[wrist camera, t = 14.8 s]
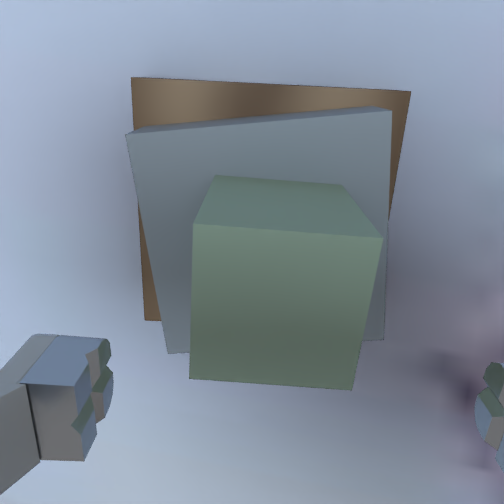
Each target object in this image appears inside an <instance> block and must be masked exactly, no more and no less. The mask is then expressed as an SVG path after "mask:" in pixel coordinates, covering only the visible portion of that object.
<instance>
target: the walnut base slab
mask: <svg viewBox="0 0 504 504" xmlns="http://www.w3.org/2000/svg"><path fill="white" fill-rule="evenodd" d="M131 89H132V107H133V125H134V130H137V129H139V128H141V127H144V126H151V125H162V124H173V123H185V122H196V121H207V120H218V119H229V118H240V117H251V116H262V115H273V114H284V113H296V112H307V111H318V110H329V109H340V108H351V107H362V106H376V107H380V108H384V109H388V110H392V131H391V158H390V185H389V213H388V220H389V215H390V209H391V203H392V198H393V192H394V186H395V181H396V175H397V169H398V164H399V158H400V152H401V147H402V141H403V135H404V130H405V124H406V118H407V113H408V107H409V101H410V96H411V91H399V90H382V89H362V88H342V87H322V86H302V85H282V84H262V83H242V82H222V81H202V80H183V79H163V78H140V77H131ZM138 212H139V230H140V247H141V265H142V282H143V300H144V317H145V320H147V321H161V316H160V311H159V306H158V300H157V295H156V290H155V285H154V280H153V275H152V270H151V264H150V259H149V254H148V249H147V244H146V239H145V234H144V229H143V223H142V218H141V213H140V208H139V203H138Z"/></svg>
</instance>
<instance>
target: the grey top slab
mask: <svg viewBox="0 0 504 504" xmlns="http://www.w3.org/2000/svg"><path fill="white" fill-rule="evenodd" d="M391 131H392V110H388V109H384V108H380V107H376V106H362V107H351V108H340V109H329V110H318V111H307V112H296V113H284V114H273V115H262V116H251V117H240V118H229V119H218V120H207V121H196V122H185V123H173V124H162V125H151V126H144V127H141V128H139V129H137V130H134V131H132V132H130V133H128V134H125V136H126V141H127V147H128V152H129V157H130V162H131V167H132V172H133V177H134V182H135V188H136V193H137V198H138V203H139V208H140V213H141V218H142V223H143V229H144V234H145V239H146V244H147V249H148V254H149V259H150V264H151V270H152V275H153V280H154V285H155V290H156V295H157V300H158V306H159V311H160V316H161V321H162V326H163V331H164V336H165V341H166V347H167V352H168V354H174V353H189V352H190V326H191V286H192V246H193V223H194V220H195V218H196V216H197V214H198V212H199V209H200V207H201V205H202V203H203V201H204V198H205V196H206V194H207V192H208V189H209V187H210V185H211V183H212V181H213V178H214V176H215V175H223V176H235V177H248V178H261V179H273V180H286V181H299V182H311V183H324V184H336V185H342V186H343V187H344V188H345V189H346V191H347V192H348V193H349V195H350V196H351V197H352V199H353V200H354V201H355V202H356V204H357V205H358V206H359V208H360V209H361V210H362V211H363V213H364V214H365V215H366V217H367V218H368V219H369V220H370V222H371V223H372V224H373V226H374V227H375V228H376V229H377V231H378V232H379V233H380V235H381V236H382V237H383V243H382V248H381V253H380V257H379V262H378V267H377V272H376V277H375V281H374V286H373V291H372V296H371V301H370V305H369V310H368V315H367V320H366V325H365V329H364V334H363V339H362V341H374V340H384V322H385V295H386V268H387V240H388V213H389V185H390V158H391Z"/></svg>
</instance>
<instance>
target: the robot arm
mask: <svg viewBox="0 0 504 504" xmlns="http://www.w3.org/2000/svg"><path fill="white" fill-rule="evenodd" d="M110 357H111V350H110V343H109V341H108V340H107V339H104V338H91V337H79V336H67V335H53V334H35V335H32V336H31V337H30V338H29V339H28V340H27V341H26V343H25V344H24V345H23V346H22V347H21V348H20V349H19V350H18V351H17V352H16V354H15V355H14V356H13V357H12V358H11V359H10V360H9V361H8V362H7V363H6V365H5V366H4V367H3V368H2V369H1V370H0V495H1V494H2V493H3V492H5V491H6V490H7V489H8V488H9V487H11V486H12V485H13V484H14V483H16V482H17V481H18V480H19V479H20V478H22V477H23V476H24V475H25V474H26V473H28V472H29V471H30V470H31V469H33V468H34V467H35V466H36V465H37V464H39V463H40V460H60V461H85V458H86V456H87V454H88V452H89V450H90V448H91V446H92V444H93V442H94V440H95V437H96V435H97V430H96V423H98V422H99V421H101V420H102V419H103V418H105V416H106V414H107V412H108V409H109V407H110V403H111V399H112V395H113V383H114V382H113V372H112V371H111V370H110V369H109V368H108V367H107V366H106V364H107V363H108V361H109V359H110ZM483 379H484V380H485V382H486V384H487V386H488V387H487V388H486V389H484V390H483V391H482V392H481V393H479V394H478V396H477V400H476V403H475V407H474V410H475V422H476V425H477V428H478V431H479V433H480V434H481V436H482V438H483V439H484V441H485V442H487V443H488V444H489V445H491V446H492V447H494V448H495V449H496V450H497V453H496V457H495V459H496V461H497V463H498V464H499V466H500V468H501V469H502V471H503V473H504V363H494V362H491V364H490V365H489V366H488V367H487V368H486V371H485V374H484V377H483Z"/></svg>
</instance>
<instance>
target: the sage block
mask: <svg viewBox="0 0 504 504" xmlns="http://www.w3.org/2000/svg"><path fill="white" fill-rule="evenodd" d="M382 243H383V237H382V236H381V235H380V233H379V232H378V231H377V229H376V228H375V227H374V226H373V224H372V223H371V222H370V220H369V219H368V218H367V217H366V215H365V214H364V213H363V211H362V210H361V209H360V208H359V206H358V205H357V204H356V202H355V201H354V200H353V199H352V197H351V196H350V195H349V193H348V192H347V191H346V189H345V188H344V187H343V186H342V185H336V184H324V183H311V182H299V181H286V180H273V179H261V178H248V177H235V176H223V175H215V176H214V178H213V181H212V183H211V185H210V187H209V189H208V192H207V194H206V196H205V198H204V201H203V203H202V205H201V207H200V209H199V212H198V214H197V216H196V218H195V220H194V223H193V246H192V286H191V326H190V366H189V379H200V380H214V381H228V382H242V383H256V384H269V385H283V386H297V387H311V388H325V389H339V390H352V387H353V382H354V378H355V373H356V368H357V363H358V358H359V353H360V349H361V344H362V339H363V334H364V329H365V325H366V320H367V315H368V310H369V305H370V301H371V296H372V291H373V286H374V281H375V277H376V272H377V267H378V262H379V257H380V253H381V248H382Z"/></svg>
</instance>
